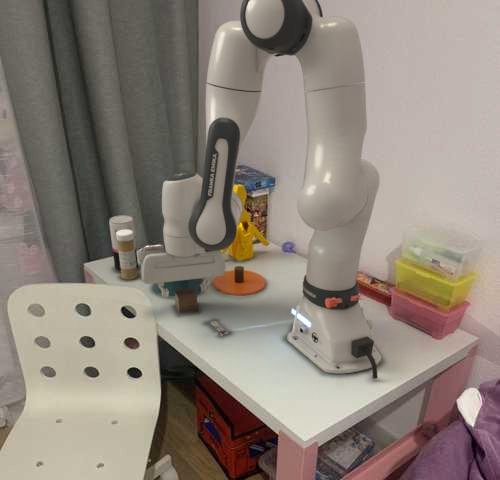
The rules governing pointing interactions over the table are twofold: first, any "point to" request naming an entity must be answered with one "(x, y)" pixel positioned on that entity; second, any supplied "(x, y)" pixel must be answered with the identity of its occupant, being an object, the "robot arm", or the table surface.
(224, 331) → the granola bar
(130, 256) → the sprinkles bottle
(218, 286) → the lid
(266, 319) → the table surface
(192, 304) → the block
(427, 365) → the table surface
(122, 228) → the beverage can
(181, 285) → the tin
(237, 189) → the figure statuette
